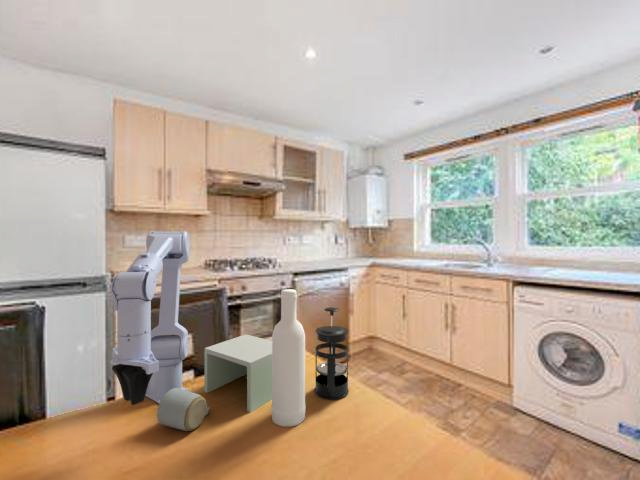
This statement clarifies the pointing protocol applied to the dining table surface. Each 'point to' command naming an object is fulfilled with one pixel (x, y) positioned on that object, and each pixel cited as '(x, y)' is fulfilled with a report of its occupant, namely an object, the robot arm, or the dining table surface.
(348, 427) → the dining table surface
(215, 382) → the counter shelf
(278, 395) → the bottle
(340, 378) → the french press
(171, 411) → the ceramic mug
